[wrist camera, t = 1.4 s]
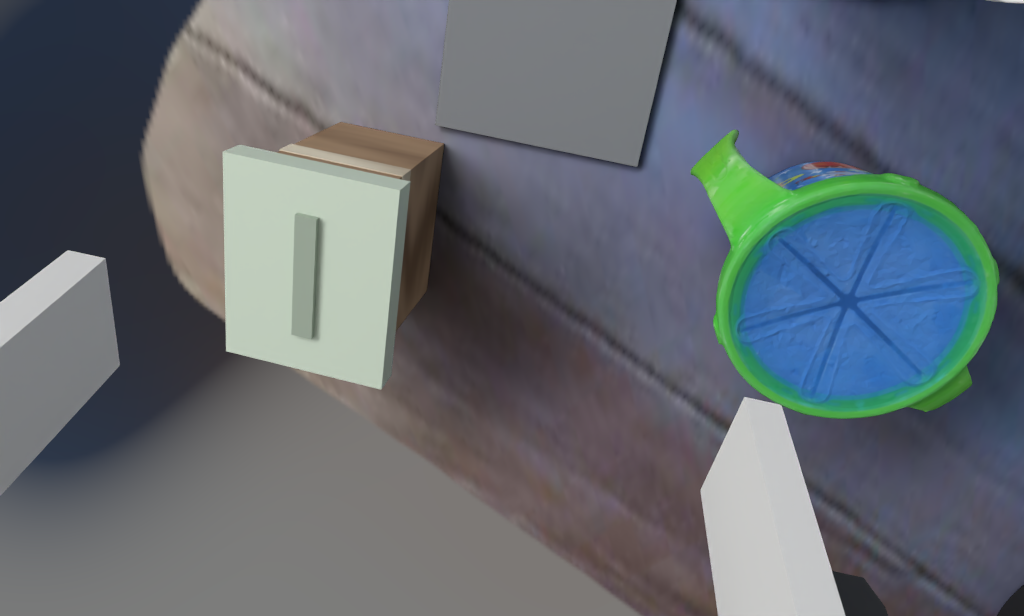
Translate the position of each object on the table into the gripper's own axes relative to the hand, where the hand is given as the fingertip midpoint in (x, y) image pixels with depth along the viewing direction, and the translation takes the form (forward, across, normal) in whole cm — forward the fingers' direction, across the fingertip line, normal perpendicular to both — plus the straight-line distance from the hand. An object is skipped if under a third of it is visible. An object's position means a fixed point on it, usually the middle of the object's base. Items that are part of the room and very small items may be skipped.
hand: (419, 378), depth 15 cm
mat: (+27, -1, -2) cm, 27 cm away
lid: (+18, +8, +9) cm, 21 cm away
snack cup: (+25, -16, +5) cm, 30 cm away
